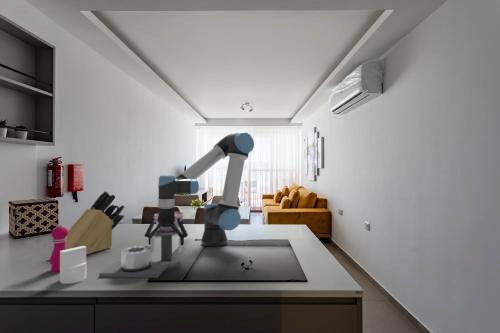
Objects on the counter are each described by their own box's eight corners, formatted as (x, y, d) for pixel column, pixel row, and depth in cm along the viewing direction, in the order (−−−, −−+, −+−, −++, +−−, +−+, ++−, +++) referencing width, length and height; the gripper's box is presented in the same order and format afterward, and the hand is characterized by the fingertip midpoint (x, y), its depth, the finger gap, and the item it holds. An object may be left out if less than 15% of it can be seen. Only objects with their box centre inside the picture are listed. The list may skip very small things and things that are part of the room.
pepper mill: (56, 266, 127) (56, 222, 127) (73, 266, 128) (72, 221, 128) (45, 272, 120) (45, 225, 120) (63, 272, 120) (63, 225, 121)
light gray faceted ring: (155, 262, 128) (155, 245, 128) (144, 272, 116) (144, 254, 116) (129, 262, 128) (129, 245, 128) (115, 272, 116) (115, 253, 116)
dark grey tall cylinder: (173, 257, 139) (173, 233, 139) (170, 261, 134) (170, 235, 134) (163, 257, 139) (163, 233, 139) (159, 261, 134) (159, 235, 134)
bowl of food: (148, 233, 192) (148, 215, 192) (162, 226, 212) (162, 211, 212) (176, 234, 189) (176, 216, 189) (187, 227, 209) (187, 211, 209)
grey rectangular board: (169, 264, 129) (169, 261, 129) (157, 277, 114) (157, 274, 114) (118, 264, 130) (118, 261, 130) (99, 276, 115) (99, 273, 115)
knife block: (126, 243, 165) (126, 190, 165) (65, 262, 133) (64, 196, 134) (112, 241, 170) (112, 190, 170) (50, 259, 138) (50, 195, 138)
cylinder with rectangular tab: (67, 285, 107) (67, 253, 107) (55, 280, 112) (55, 250, 112) (91, 277, 115) (91, 247, 115) (79, 273, 119) (79, 244, 119)
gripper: (137, 208, 134) (137, 253, 134) (190, 208, 133) (189, 254, 132) (144, 206, 141) (144, 249, 141) (194, 206, 140) (193, 249, 140)
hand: (166, 251), depth 137 cm, fingers open, 13 cm apart
